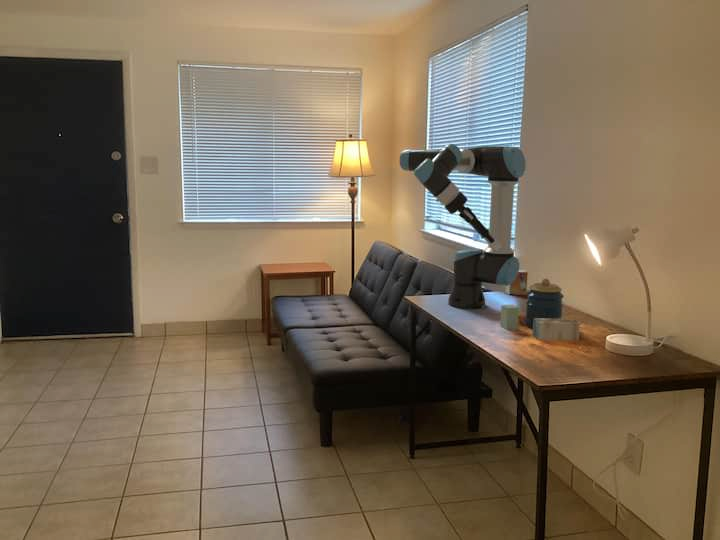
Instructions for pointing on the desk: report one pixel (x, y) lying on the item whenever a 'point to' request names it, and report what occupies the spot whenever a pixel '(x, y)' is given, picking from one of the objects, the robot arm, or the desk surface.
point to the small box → (518, 284)
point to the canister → (543, 302)
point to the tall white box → (555, 329)
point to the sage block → (509, 317)
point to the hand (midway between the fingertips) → (498, 248)
